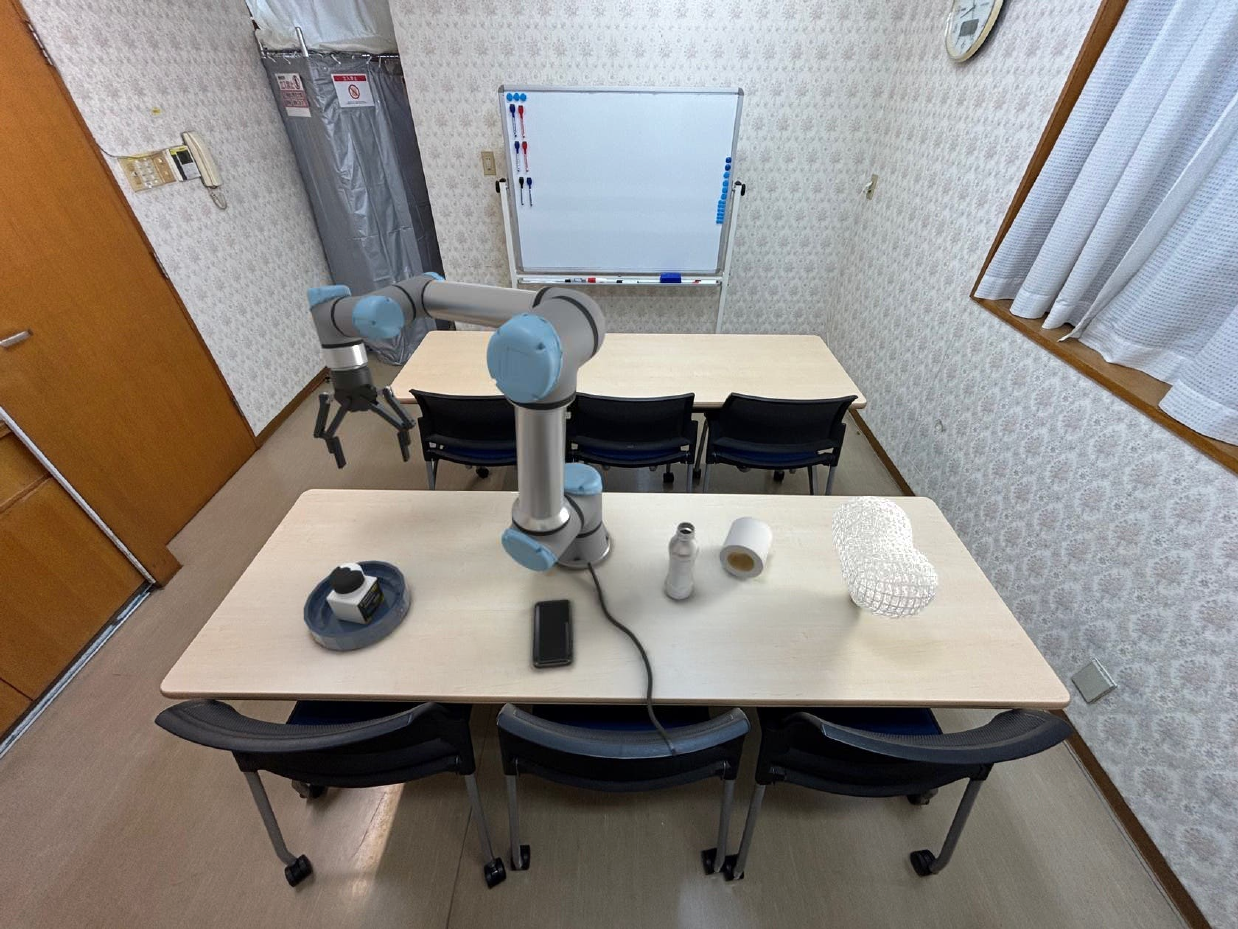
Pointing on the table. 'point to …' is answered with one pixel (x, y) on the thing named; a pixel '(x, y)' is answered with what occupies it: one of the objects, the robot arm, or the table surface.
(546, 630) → the phone
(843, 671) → the table surface
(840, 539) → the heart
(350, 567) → the medicine bottle
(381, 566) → the bowl
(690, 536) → the plastic bottle
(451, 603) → the table surface
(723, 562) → the toilet paper
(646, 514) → the table surface
